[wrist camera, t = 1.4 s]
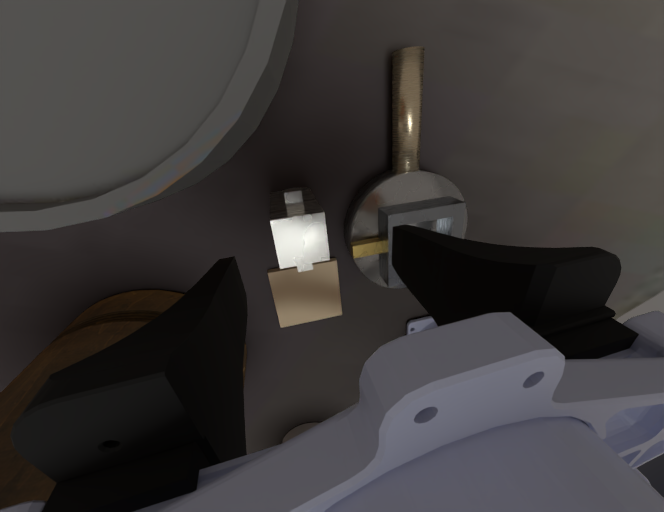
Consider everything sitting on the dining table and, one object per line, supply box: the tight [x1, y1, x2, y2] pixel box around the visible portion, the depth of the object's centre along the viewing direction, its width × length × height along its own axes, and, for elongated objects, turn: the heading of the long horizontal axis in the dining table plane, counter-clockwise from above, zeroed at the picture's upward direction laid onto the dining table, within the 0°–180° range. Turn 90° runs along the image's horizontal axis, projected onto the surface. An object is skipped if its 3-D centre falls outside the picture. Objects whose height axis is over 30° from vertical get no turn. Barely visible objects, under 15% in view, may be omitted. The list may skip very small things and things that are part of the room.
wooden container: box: [0, 290, 247, 509], centre depth 15 cm, size 15×15×22 cm
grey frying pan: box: [344, 47, 467, 288], centre depth 21 cm, size 18×10×2 cm, turn 6°
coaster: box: [268, 258, 342, 328], centre depth 25 cm, size 6×6×1 cm
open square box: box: [350, 196, 466, 287], centre depth 21 cm, size 6×8×2 cm
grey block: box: [270, 187, 330, 272], centre depth 19 cm, size 5×3×7 cm, turn 6°
